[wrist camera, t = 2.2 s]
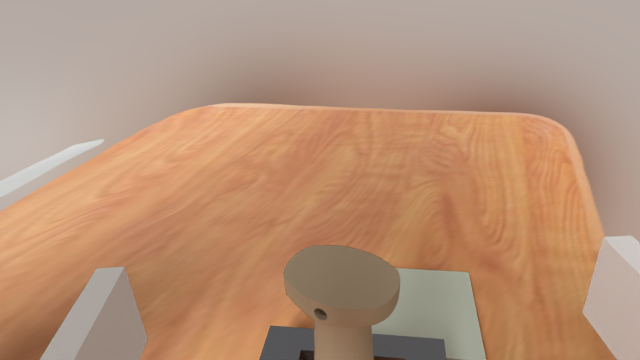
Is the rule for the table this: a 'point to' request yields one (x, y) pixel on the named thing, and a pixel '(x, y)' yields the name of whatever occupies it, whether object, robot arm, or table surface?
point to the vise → (389, 350)
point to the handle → (342, 297)
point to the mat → (437, 312)
